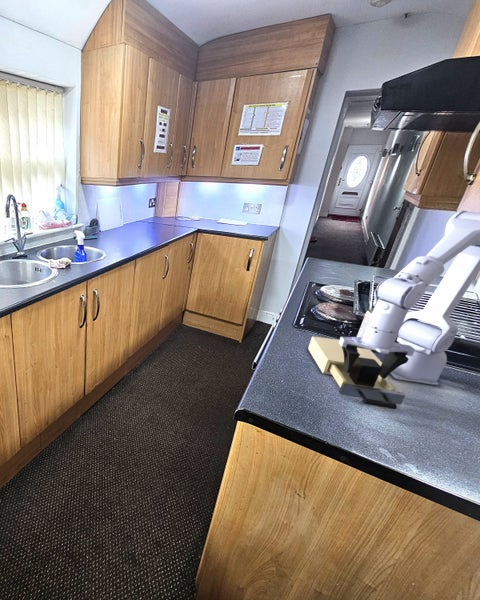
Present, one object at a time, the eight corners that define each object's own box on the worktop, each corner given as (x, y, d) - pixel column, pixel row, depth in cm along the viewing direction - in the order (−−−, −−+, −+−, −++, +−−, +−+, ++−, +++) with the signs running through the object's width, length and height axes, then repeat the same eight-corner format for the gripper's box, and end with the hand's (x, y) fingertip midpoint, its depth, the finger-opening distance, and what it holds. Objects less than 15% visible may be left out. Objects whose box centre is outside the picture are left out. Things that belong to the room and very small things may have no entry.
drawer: (410, 416, 75) (415, 407, 74) (347, 405, 79) (351, 396, 78) (375, 374, 90) (379, 366, 89) (323, 366, 93) (326, 358, 92)
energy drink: (375, 352, 101) (390, 318, 97) (354, 347, 104) (367, 313, 100) (374, 345, 105) (388, 311, 101) (354, 340, 108) (366, 307, 103)
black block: (366, 378, 87) (374, 359, 84) (373, 387, 83) (382, 367, 81) (348, 375, 88) (355, 356, 85) (354, 384, 84) (362, 365, 82)
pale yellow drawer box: (381, 382, 88) (387, 368, 86) (322, 373, 92) (327, 359, 90) (358, 355, 100) (364, 342, 98) (308, 348, 104) (312, 336, 102)
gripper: (354, 330, 77) (337, 377, 83) (431, 339, 73) (407, 388, 79) (343, 317, 84) (327, 362, 89) (412, 325, 80) (391, 371, 85)
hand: (363, 373), depth 84 cm, fingers open, 7 cm apart
